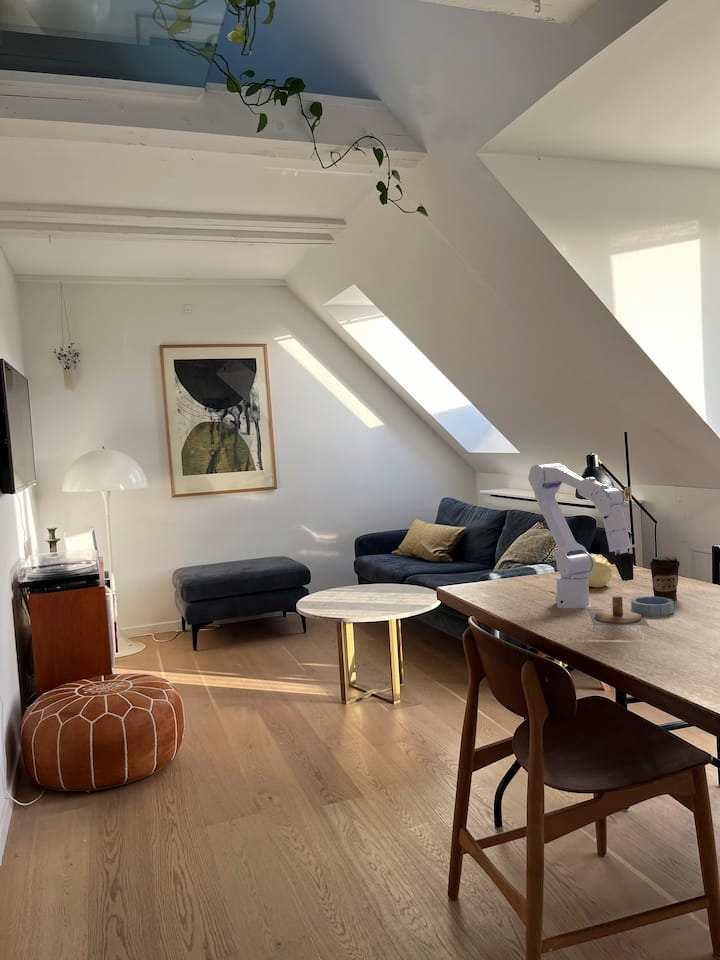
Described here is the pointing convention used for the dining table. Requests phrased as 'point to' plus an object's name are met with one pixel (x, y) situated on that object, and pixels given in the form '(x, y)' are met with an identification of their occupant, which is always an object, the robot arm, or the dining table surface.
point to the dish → (652, 606)
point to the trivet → (595, 622)
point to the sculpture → (599, 571)
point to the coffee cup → (665, 576)
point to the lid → (617, 614)
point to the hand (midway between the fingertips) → (627, 580)
